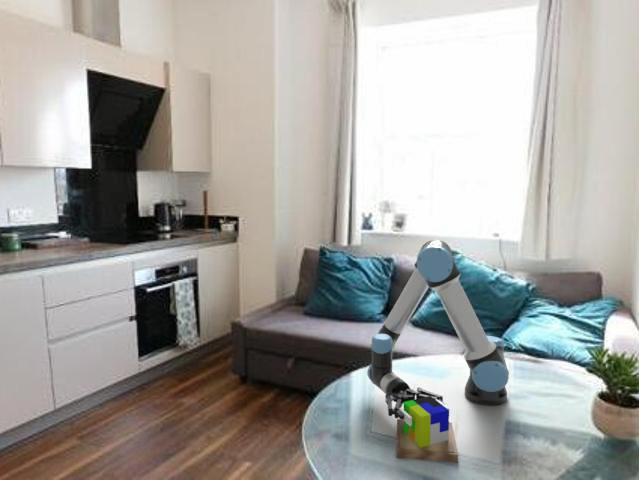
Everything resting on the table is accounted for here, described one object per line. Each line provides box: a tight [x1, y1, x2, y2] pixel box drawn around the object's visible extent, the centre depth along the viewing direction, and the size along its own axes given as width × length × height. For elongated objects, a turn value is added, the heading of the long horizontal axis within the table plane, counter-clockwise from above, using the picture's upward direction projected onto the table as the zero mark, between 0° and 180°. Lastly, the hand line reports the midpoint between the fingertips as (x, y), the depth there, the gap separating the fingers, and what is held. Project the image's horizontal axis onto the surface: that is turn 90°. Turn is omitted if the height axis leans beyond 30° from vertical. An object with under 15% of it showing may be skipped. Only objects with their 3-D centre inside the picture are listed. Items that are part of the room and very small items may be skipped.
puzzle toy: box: [403, 396, 450, 448], centre depth 150 cm, size 10×10×10 cm
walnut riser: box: [396, 418, 459, 464], centre depth 151 cm, size 18×18×3 cm
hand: (430, 417), depth 148 cm, fingers open, 13 cm apart
